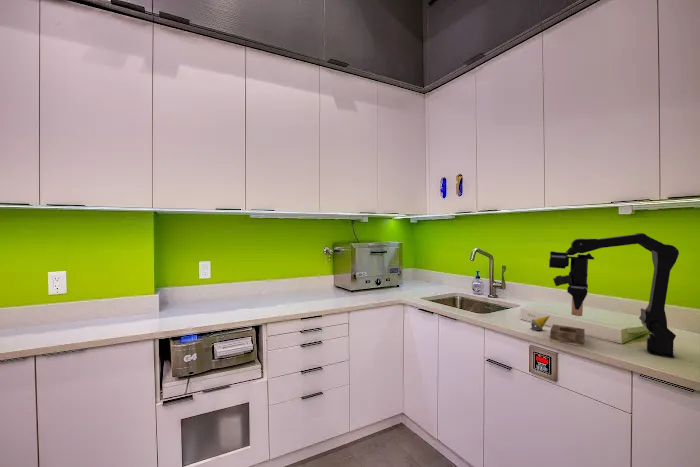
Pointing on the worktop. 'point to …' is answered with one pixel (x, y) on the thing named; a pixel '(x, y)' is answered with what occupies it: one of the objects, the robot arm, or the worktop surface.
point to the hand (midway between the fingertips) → (577, 308)
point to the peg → (576, 312)
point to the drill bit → (539, 323)
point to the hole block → (567, 335)
